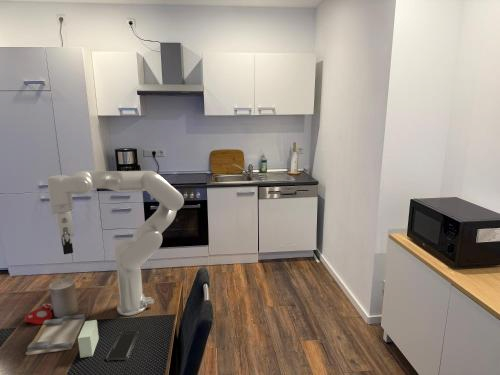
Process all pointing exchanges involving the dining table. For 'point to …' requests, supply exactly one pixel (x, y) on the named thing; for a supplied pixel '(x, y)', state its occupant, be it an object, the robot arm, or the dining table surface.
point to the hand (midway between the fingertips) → (67, 249)
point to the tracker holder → (39, 315)
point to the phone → (122, 346)
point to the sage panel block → (88, 338)
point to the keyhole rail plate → (56, 335)
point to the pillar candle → (64, 297)
